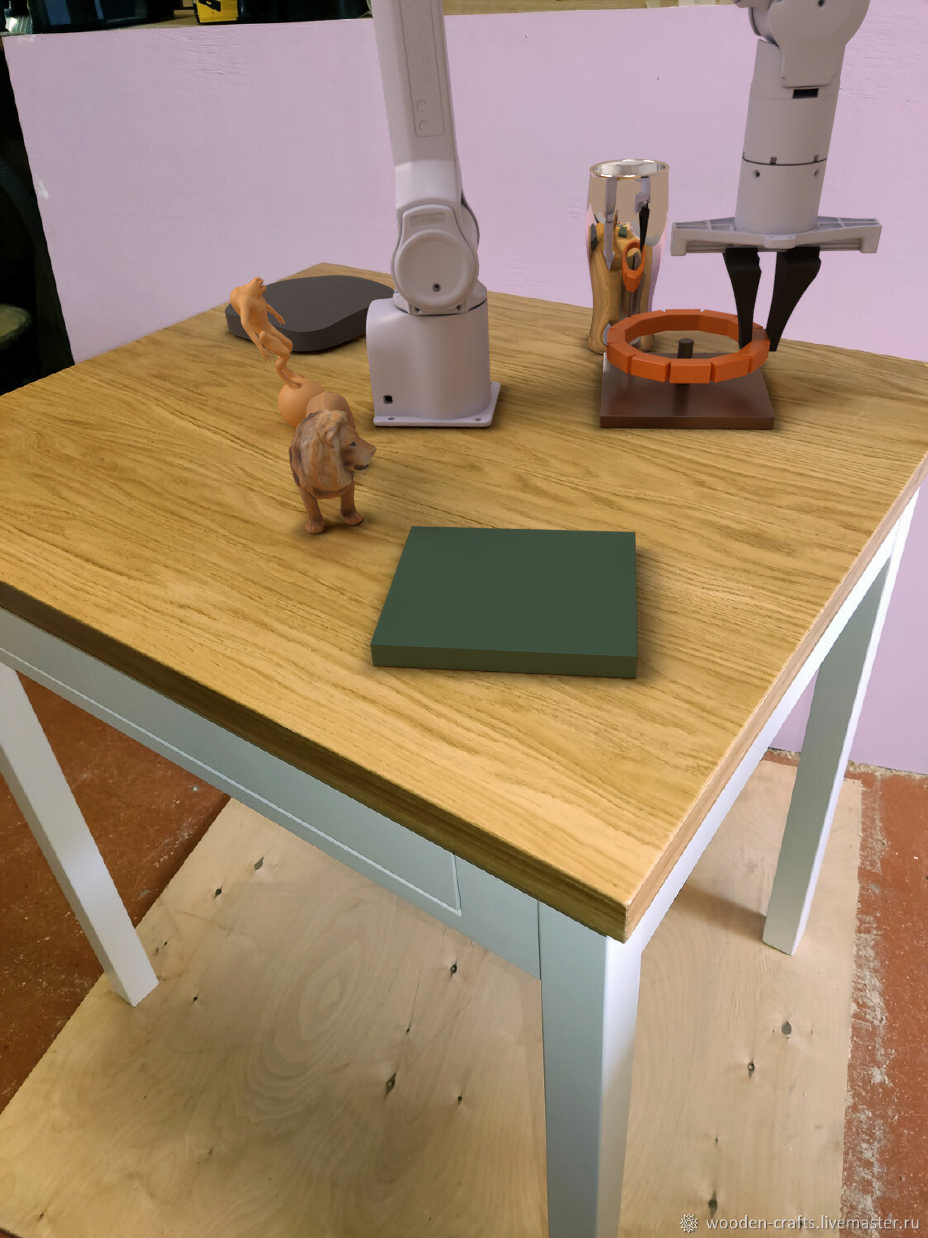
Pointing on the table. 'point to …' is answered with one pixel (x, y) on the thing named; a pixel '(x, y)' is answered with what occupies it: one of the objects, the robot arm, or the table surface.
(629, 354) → the ring
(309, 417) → the lion figurine
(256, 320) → the figurine
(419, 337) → the robot arm
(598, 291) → the beer glass
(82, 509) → the table surface
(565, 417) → the table surface
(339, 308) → the media streaming box
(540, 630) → the stand
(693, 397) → the post
